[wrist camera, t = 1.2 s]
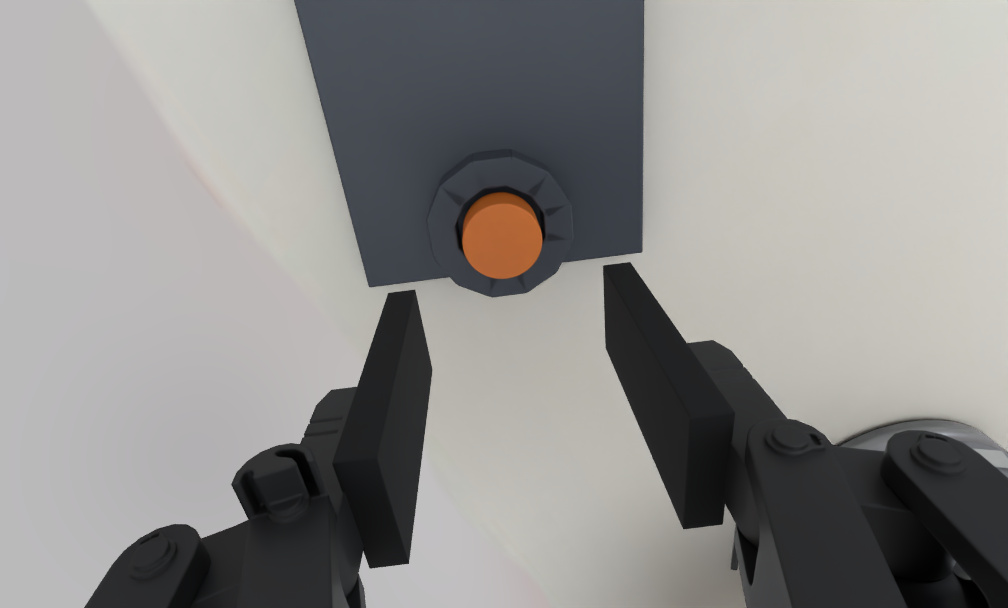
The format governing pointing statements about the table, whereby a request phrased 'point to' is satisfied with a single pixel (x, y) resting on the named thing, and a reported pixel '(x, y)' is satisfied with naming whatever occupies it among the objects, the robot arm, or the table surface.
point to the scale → (482, 126)
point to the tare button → (501, 235)
